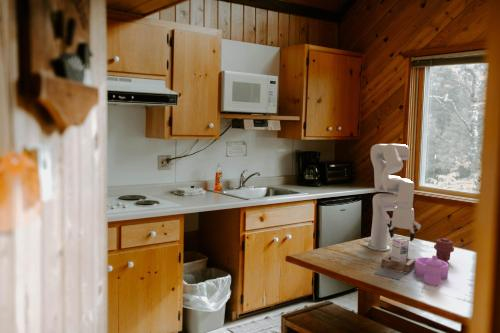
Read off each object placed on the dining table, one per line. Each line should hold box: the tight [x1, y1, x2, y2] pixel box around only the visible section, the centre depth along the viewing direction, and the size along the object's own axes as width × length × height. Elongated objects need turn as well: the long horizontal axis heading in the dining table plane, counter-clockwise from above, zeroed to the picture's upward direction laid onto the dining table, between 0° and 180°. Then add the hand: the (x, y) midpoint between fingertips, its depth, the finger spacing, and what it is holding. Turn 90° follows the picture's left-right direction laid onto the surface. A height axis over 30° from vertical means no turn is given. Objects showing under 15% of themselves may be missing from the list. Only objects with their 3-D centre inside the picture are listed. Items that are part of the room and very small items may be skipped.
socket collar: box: [380, 253, 417, 274], centre depth 247 cm, size 14×14×4 cm
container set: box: [413, 255, 450, 287], centre depth 232 cm, size 25×15×13 cm, turn 162°
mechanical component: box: [433, 237, 455, 263], centre depth 260 cm, size 12×10×10 cm
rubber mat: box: [373, 267, 407, 281], centre depth 235 cm, size 12×12×1 cm
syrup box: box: [390, 237, 410, 263], centre depth 246 cm, size 6×6×14 cm
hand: (401, 238), depth 245 cm, fingers open, 9 cm apart
